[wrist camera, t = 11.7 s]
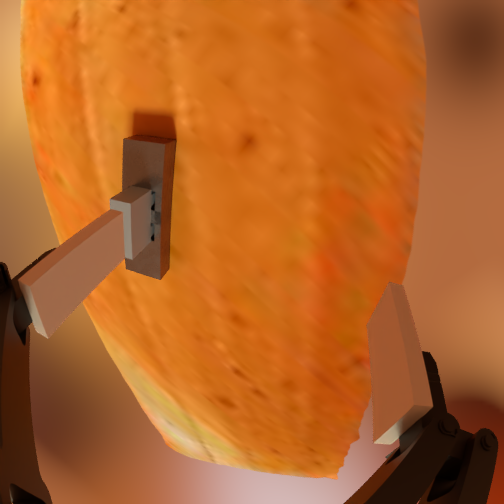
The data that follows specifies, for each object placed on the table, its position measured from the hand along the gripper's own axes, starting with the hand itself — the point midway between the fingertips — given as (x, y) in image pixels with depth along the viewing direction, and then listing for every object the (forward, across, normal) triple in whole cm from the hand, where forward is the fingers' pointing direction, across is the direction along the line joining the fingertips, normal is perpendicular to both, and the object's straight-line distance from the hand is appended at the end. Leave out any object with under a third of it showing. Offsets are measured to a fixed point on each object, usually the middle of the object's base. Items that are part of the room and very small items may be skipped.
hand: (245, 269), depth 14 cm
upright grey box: (+34, -24, -16) cm, 45 cm away
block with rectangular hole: (+35, -24, -16) cm, 45 cm away
